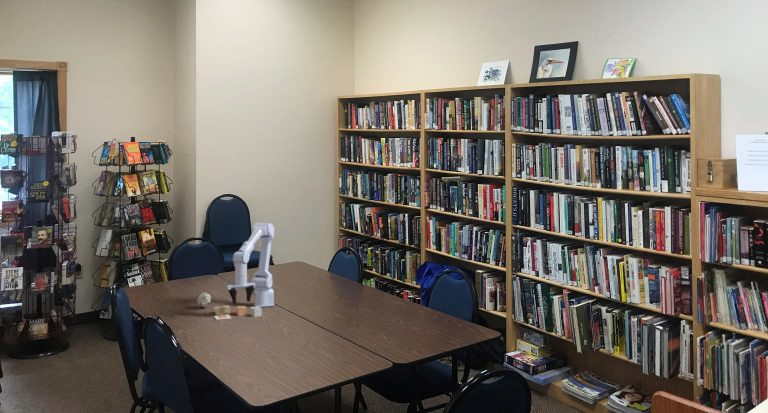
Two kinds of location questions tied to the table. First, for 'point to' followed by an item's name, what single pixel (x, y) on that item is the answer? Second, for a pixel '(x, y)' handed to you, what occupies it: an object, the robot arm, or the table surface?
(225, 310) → the maple block
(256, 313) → the grey block
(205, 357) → the table surface
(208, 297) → the game die
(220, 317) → the tile
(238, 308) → the terracotta block
